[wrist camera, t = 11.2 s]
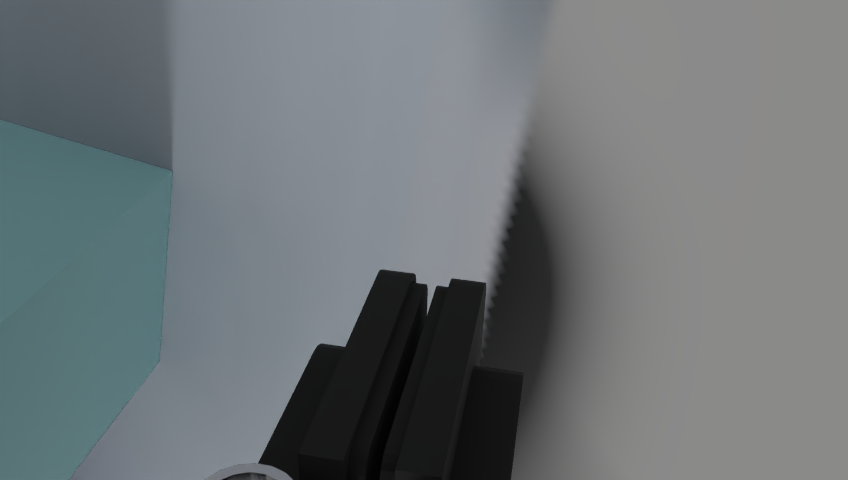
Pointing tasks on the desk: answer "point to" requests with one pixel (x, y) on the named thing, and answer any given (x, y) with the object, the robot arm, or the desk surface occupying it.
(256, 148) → the desk surface
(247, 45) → the desk surface
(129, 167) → the mint green box
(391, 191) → the desk surface
